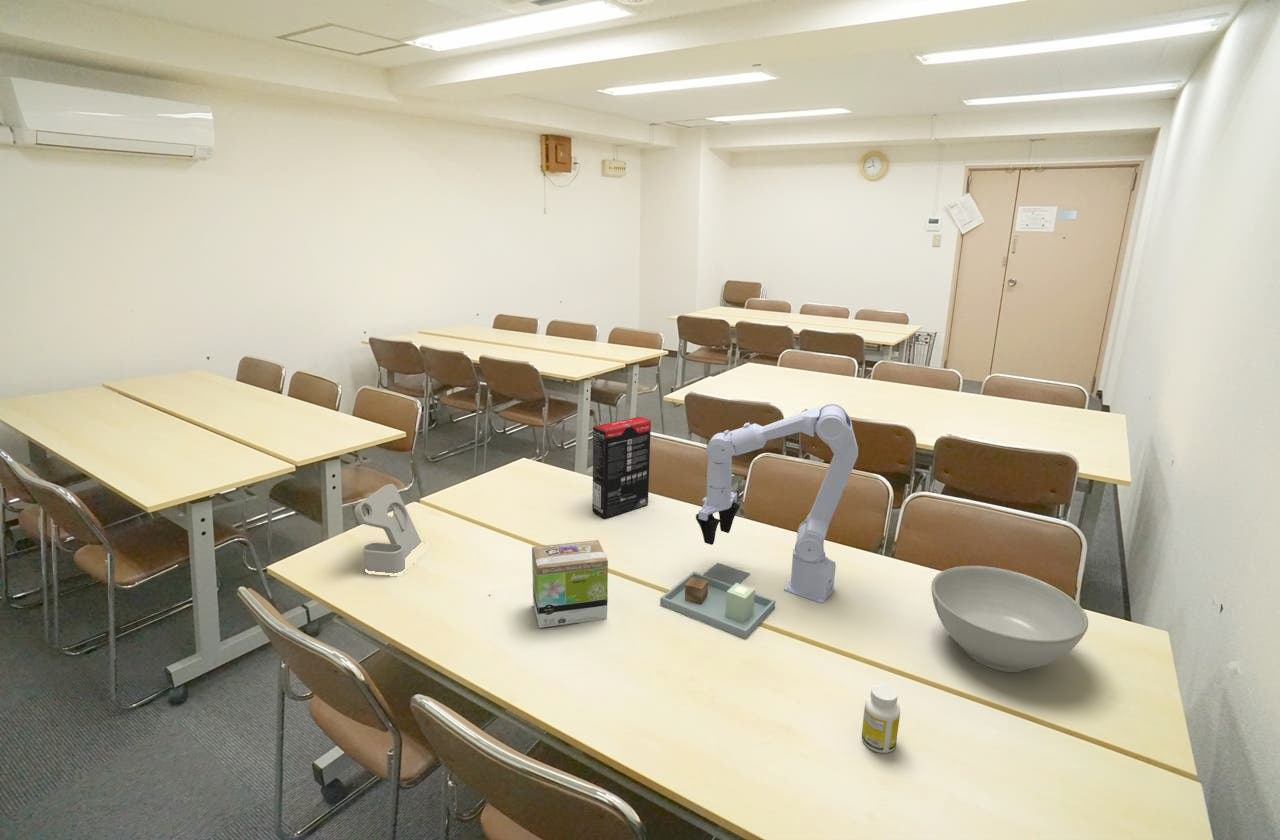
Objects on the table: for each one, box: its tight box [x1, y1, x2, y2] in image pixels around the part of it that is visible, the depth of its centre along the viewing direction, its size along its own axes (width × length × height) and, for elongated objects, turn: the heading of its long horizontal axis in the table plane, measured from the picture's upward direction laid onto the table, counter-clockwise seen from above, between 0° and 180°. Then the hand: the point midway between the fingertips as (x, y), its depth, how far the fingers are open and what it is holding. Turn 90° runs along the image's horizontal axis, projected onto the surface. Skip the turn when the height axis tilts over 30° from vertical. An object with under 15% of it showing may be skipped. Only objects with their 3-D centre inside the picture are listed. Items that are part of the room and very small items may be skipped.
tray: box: [659, 571, 776, 640], centre depth 145 cm, size 21×14×2 cm
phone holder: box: [354, 483, 422, 574], centre depth 163 cm, size 17×10×18 cm, turn 171°
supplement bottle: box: [861, 683, 901, 754], centre depth 106 cm, size 5×5×10 cm
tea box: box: [531, 539, 609, 629], centre depth 141 cm, size 15×10×15 cm, turn 105°
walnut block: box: [685, 577, 708, 605], centre depth 148 cm, size 4×4×4 cm
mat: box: [702, 562, 751, 585], centre depth 158 cm, size 9×9×1 cm
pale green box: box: [725, 583, 756, 623], centre depth 141 cm, size 4×4×6 cm
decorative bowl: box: [930, 565, 1089, 673], centre depth 129 cm, size 27×27×12 cm
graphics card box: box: [592, 416, 652, 519], centre depth 192 cm, size 17×7×27 cm, turn 130°
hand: (717, 537), depth 156 cm, fingers open, 7 cm apart
